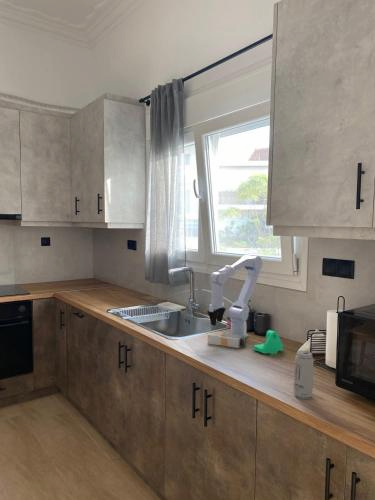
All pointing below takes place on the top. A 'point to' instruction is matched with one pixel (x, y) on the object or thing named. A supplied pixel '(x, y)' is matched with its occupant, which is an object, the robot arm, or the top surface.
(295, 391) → the energy drink can
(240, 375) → the top surface
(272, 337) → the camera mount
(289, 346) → the top surface
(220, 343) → the door
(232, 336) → the block
